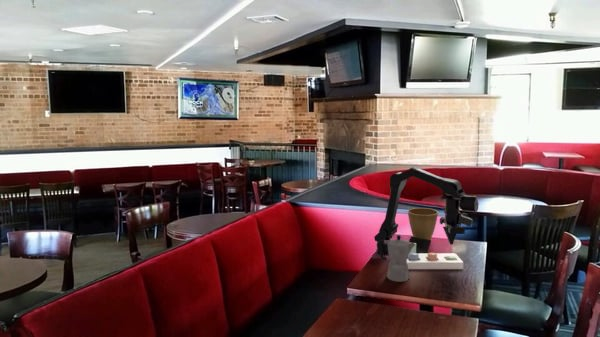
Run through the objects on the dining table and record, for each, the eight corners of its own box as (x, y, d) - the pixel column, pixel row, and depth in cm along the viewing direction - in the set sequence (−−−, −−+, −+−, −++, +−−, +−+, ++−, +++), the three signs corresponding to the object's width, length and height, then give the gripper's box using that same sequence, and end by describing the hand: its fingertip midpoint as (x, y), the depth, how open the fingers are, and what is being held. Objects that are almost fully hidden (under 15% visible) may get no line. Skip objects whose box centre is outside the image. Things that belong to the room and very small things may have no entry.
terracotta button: (428, 263, 203) (428, 255, 202) (426, 260, 207) (426, 252, 206) (437, 263, 203) (438, 255, 202) (435, 260, 207) (435, 252, 206)
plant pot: (402, 238, 245) (403, 208, 243) (429, 236, 248) (429, 207, 246) (414, 246, 231) (415, 215, 229) (442, 244, 233) (443, 213, 231)
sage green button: (447, 266, 203) (447, 258, 202) (444, 263, 207) (444, 255, 206) (456, 266, 202) (456, 258, 202) (453, 263, 206) (454, 255, 206)
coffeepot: (415, 275, 194) (415, 233, 191) (414, 283, 185) (415, 239, 182) (377, 272, 198) (378, 231, 195) (375, 280, 189) (375, 237, 186)
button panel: (406, 269, 201) (406, 251, 199) (402, 259, 212) (402, 242, 211) (463, 269, 199) (463, 251, 198) (455, 259, 211) (455, 242, 210)
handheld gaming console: (400, 249, 223) (407, 230, 226) (403, 254, 229) (410, 236, 232) (423, 256, 217) (430, 237, 220) (425, 261, 223) (432, 243, 226)
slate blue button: (410, 263, 203) (410, 255, 203) (408, 260, 207) (408, 252, 207) (419, 263, 203) (419, 255, 203) (417, 260, 207) (417, 252, 206)
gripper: (478, 214, 191) (477, 251, 193) (464, 204, 210) (463, 238, 212) (450, 214, 192) (449, 251, 194) (439, 204, 210) (438, 238, 212)
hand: (451, 244), depth 203 cm, fingers closed
